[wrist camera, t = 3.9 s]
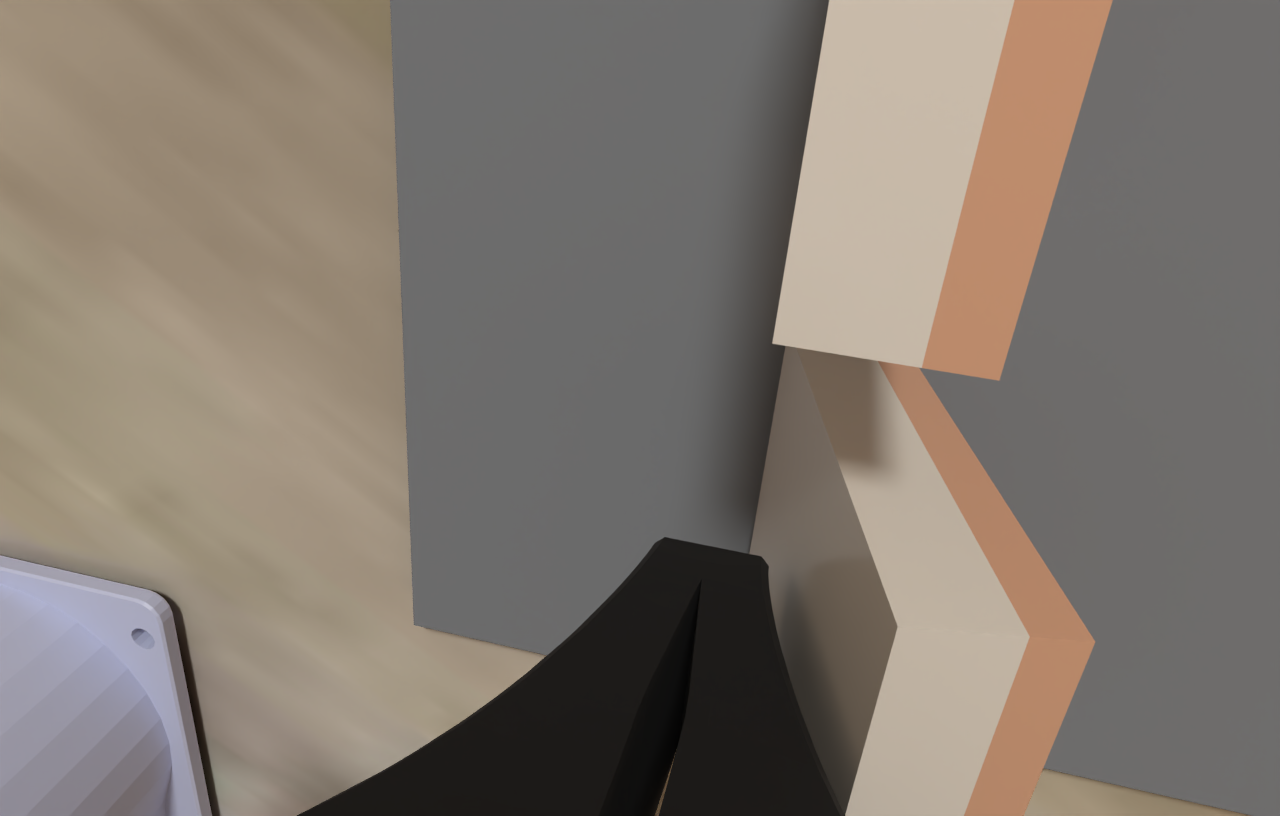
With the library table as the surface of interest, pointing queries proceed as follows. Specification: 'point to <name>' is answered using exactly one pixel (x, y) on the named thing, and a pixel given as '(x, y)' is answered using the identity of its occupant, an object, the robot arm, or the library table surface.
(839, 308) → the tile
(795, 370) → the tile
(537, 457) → the slate mat
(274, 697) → the library table surface
